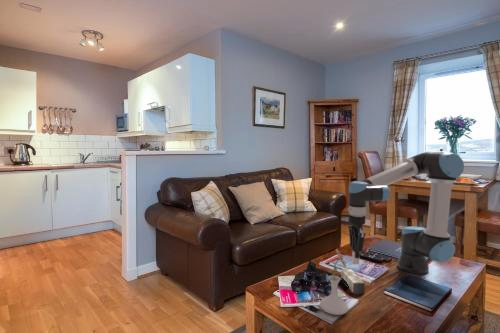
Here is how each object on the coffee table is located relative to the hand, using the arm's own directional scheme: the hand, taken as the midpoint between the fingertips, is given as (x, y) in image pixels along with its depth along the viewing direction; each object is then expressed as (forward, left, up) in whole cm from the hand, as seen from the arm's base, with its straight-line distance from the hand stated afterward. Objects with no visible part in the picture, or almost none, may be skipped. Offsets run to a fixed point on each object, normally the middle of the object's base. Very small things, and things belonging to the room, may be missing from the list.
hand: (355, 263), depth 136 cm
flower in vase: (+16, +15, -13) cm, 25 cm away
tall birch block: (0, +4, -10) cm, 11 cm away
